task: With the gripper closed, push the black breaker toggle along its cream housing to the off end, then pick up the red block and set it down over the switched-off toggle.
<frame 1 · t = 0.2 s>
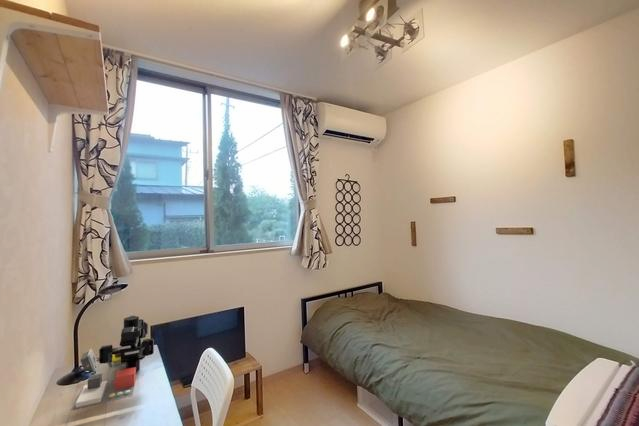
hand: (124, 359, 114), 16 cm above the table, tool horizontal, fingers open, 9 cm apart
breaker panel: (106, 394, 119), on the table
red block: (125, 383, 125), point 1 cm above the table, touching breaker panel
breaker toggle: (94, 381, 120), point 5 cm above the table, slide at 0.0 cm
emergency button: (122, 362, 150), on the table
electrical switch: (89, 371, 139), on the table
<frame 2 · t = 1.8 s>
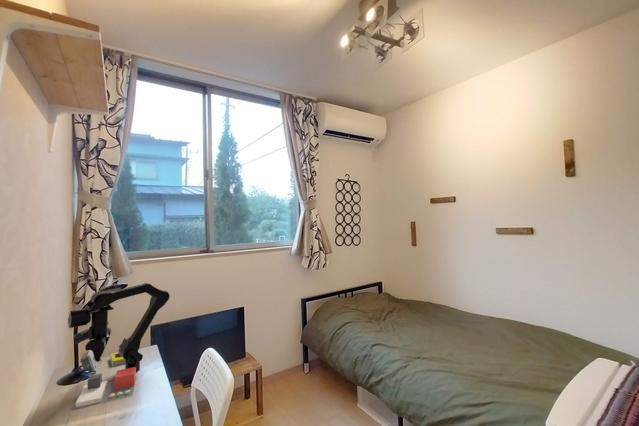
hand: (98, 358, 127), 11 cm above the table, tool pointing down, fingers open, 5 cm apart
nothing on the table moved.
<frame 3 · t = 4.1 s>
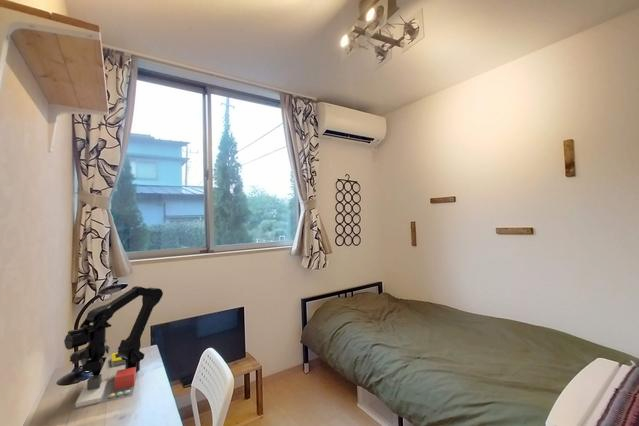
hand: (96, 378, 123), 5 cm above the table, tool pointing down, fingers closed
breaker toggle: (94, 381, 120), point 5 cm above the table, slide at 0.5 cm, touching gripper
everything else where it was.
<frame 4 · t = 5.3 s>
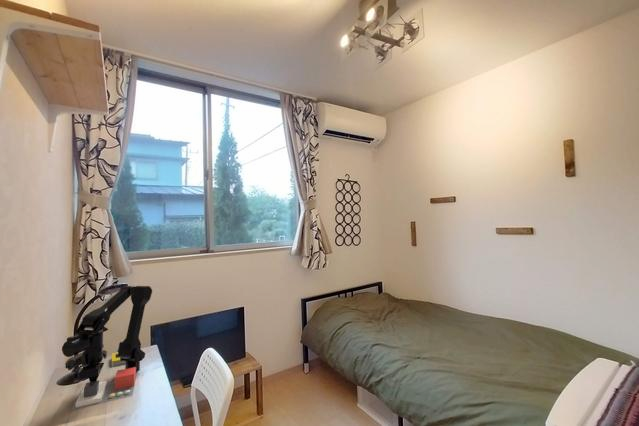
hand: (93, 385, 118), 5 cm above the table, tool pointing down, fingers closed
breaker toggle: (91, 388, 115), point 5 cm above the table, slide at 6.2 cm, touching gripper
everything else where it was.
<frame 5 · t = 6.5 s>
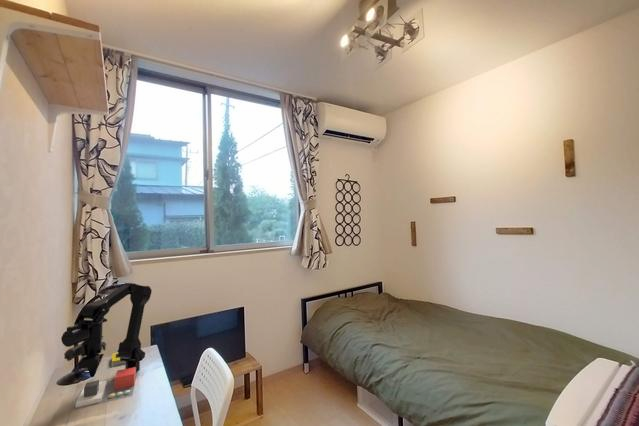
hand: (92, 376, 117), 9 cm above the table, tool pointing down, fingers closed
breaker toggle: (91, 388, 115), point 5 cm above the table, slide at 6.1 cm
everything else where it was.
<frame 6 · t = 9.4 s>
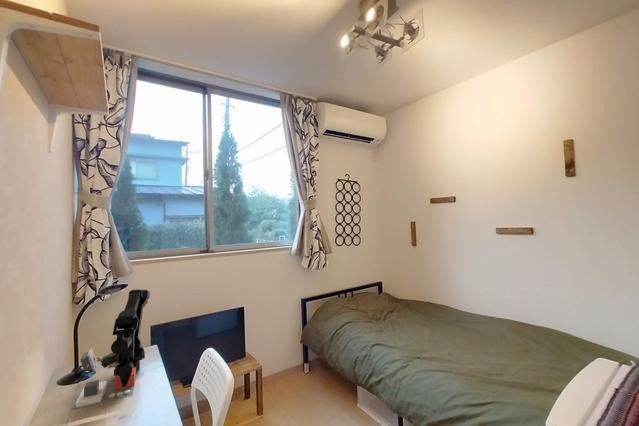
hand: (125, 382, 125), 2 cm above the table, tool pointing down, fingers closed on red block, 7 cm apart
red block: (125, 383, 125), point 1 cm above the table, touching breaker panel, gripper
everything else where it was.
when the fingers open (5 cm above the table, at t = 14.2 s): red block drops 1 cm, resting on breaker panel.
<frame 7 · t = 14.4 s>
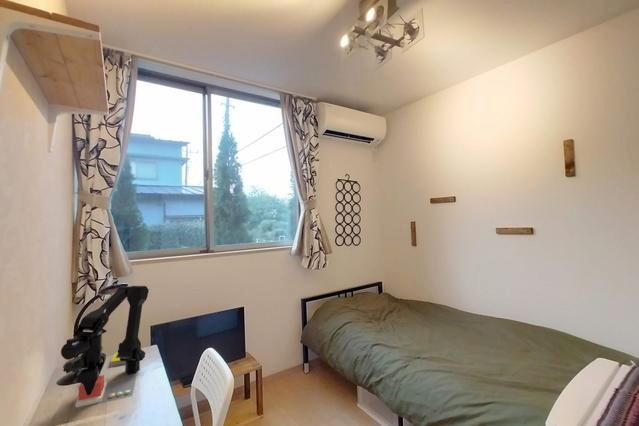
hand: (91, 388, 115), 5 cm above the table, tool pointing down, fingers open, 9 cm apart
red block: (91, 393, 115), point 3 cm above the table, touching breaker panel
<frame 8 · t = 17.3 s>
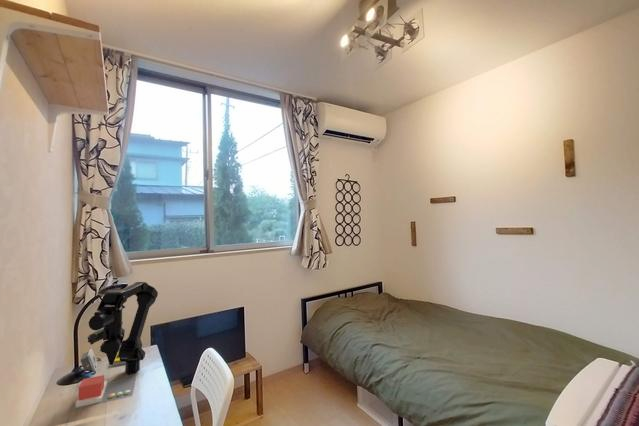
hand: (113, 360, 123), 12 cm above the table, tool pointing down, fingers open, 9 cm apart
at the end: breaker toggle slide at 6.1 cm; red block 0.1 cm off-centre on the breaker toggle, point 0.0 cm above the breaker toggle's base; red block tilted 0° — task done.
